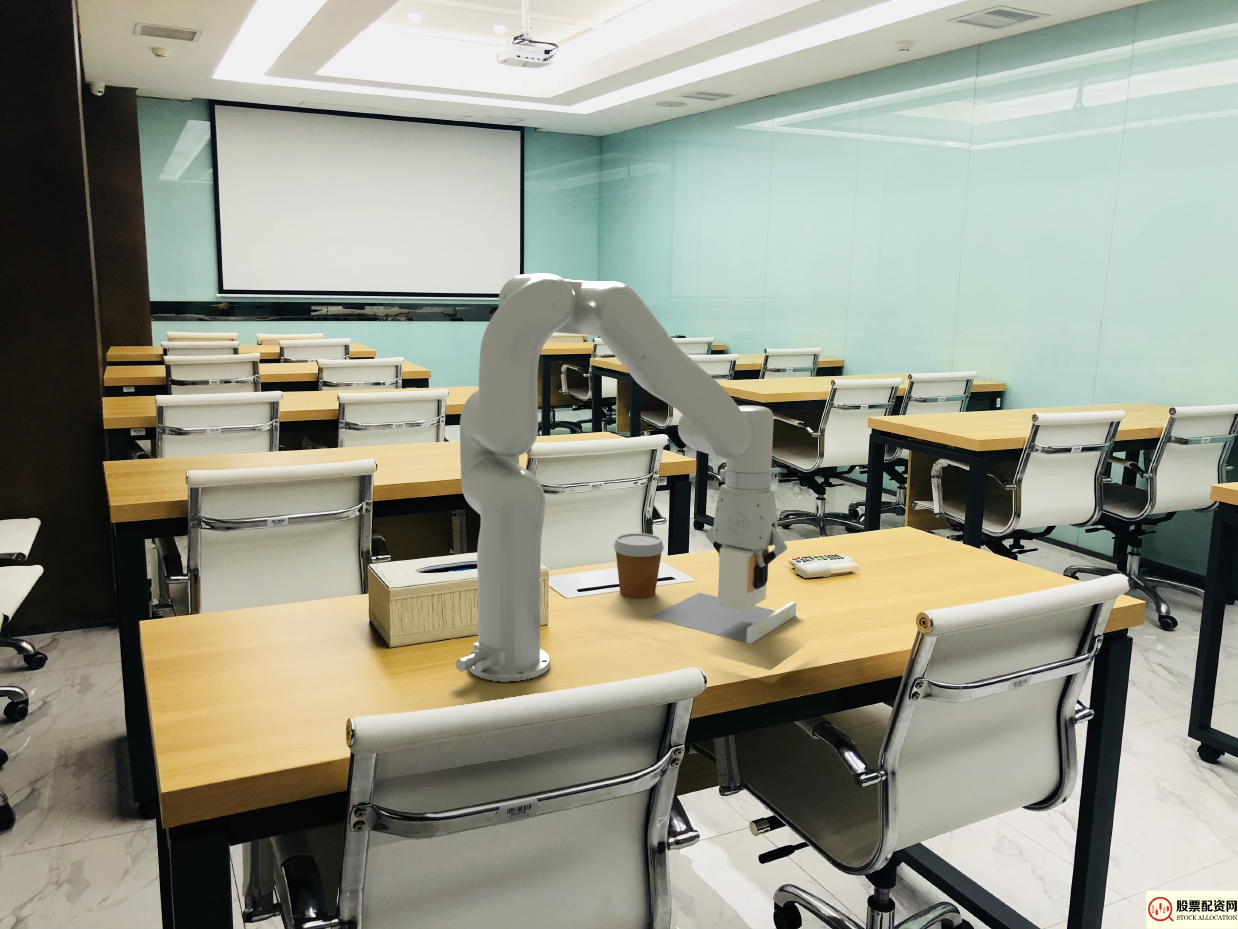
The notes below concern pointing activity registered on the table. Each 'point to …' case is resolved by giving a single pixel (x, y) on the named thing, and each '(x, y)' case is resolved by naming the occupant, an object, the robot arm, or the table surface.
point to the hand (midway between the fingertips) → (743, 582)
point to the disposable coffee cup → (638, 564)
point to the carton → (738, 579)
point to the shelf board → (726, 618)
